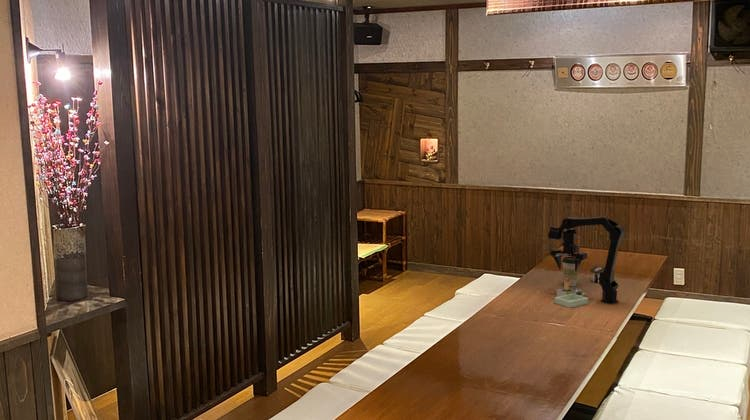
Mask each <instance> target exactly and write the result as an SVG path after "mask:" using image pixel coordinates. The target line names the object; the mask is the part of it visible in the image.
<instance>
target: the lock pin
mask: <svg viewBox="0 0 750 420" xmlns="http://www.w3.org/2000/svg"><path fill="white" fill-rule="evenodd" d="M563 281H565V282H564V284H563V286H564V287H563V288H564V291H566V292H568V291H569V289H570V286H569V281H570V278H568V277H565V278H564V277H563Z"/></svg>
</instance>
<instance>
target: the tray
mask: <svg viewBox="0 0 750 420" xmlns="http://www.w3.org/2000/svg"><path fill="white" fill-rule="evenodd" d="M554 304H557V305H559V306H562V307H566V308H568V309H571V308H576V307H581V306H586V305H588V304H589V298H588V297H586V296H580V295H576V294H568V295H564V296H559V297H557V296H556V297H554Z"/></svg>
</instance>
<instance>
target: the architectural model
mask: <svg viewBox="0 0 750 420" xmlns="http://www.w3.org/2000/svg"><path fill="white" fill-rule="evenodd" d="M604 269H605V266H604V267H603V266H594V267H593V268H591V269H590V273H593V275H592V282H593V283H595V282H596V281H597V283H598V284H599V280H598V278H599V273H600V272H601V271H603V270H604Z"/></svg>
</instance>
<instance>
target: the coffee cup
mask: <svg viewBox="0 0 750 420" xmlns="http://www.w3.org/2000/svg"><path fill="white" fill-rule="evenodd" d="M575 259H576V258H575V257H572V256H564V257H562V259H561V263H562V271H563V272H562V273H563V279H564V278H565V277H568V278H570V281H569V287H576V286H577V283H578V282H577V281H578V276H579V272H580V270H579V269H580V267H579V268H578V270H577V272H575ZM563 281H564V280H563ZM564 282H565V281H564Z"/></svg>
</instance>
